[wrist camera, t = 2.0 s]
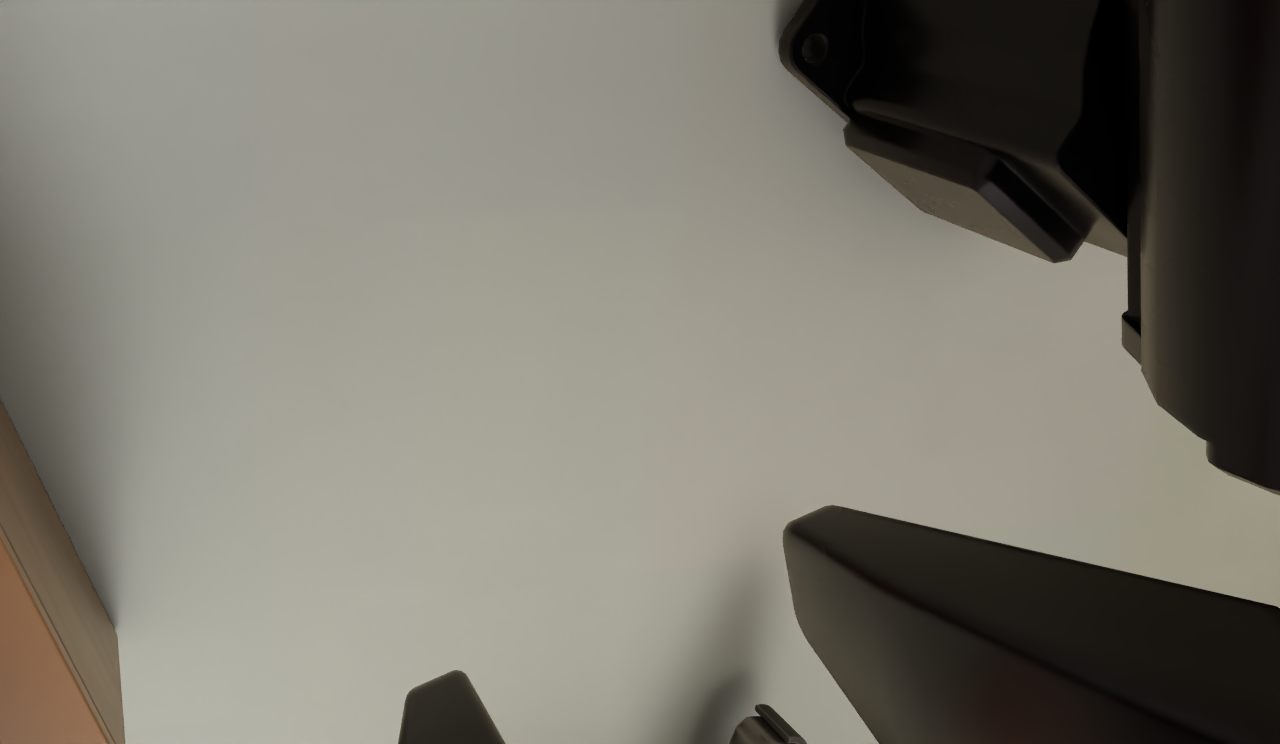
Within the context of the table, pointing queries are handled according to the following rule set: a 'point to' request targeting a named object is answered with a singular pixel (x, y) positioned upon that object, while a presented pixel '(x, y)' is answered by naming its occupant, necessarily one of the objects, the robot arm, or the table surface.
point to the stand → (49, 621)
